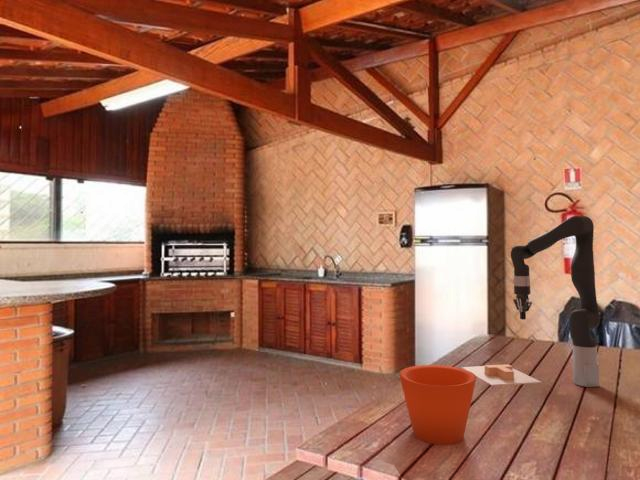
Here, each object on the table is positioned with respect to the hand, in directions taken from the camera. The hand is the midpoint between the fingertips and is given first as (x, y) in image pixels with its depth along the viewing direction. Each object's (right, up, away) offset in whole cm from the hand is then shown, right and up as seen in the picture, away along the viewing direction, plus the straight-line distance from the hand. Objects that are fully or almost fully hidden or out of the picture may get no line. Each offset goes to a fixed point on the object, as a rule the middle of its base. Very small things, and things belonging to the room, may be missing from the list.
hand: (522, 319), depth 228 cm
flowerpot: (-63, -25, -77) cm, 103 cm away
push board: (-16, -25, -11) cm, 32 cm away
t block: (-16, -24, -15) cm, 33 cm away
